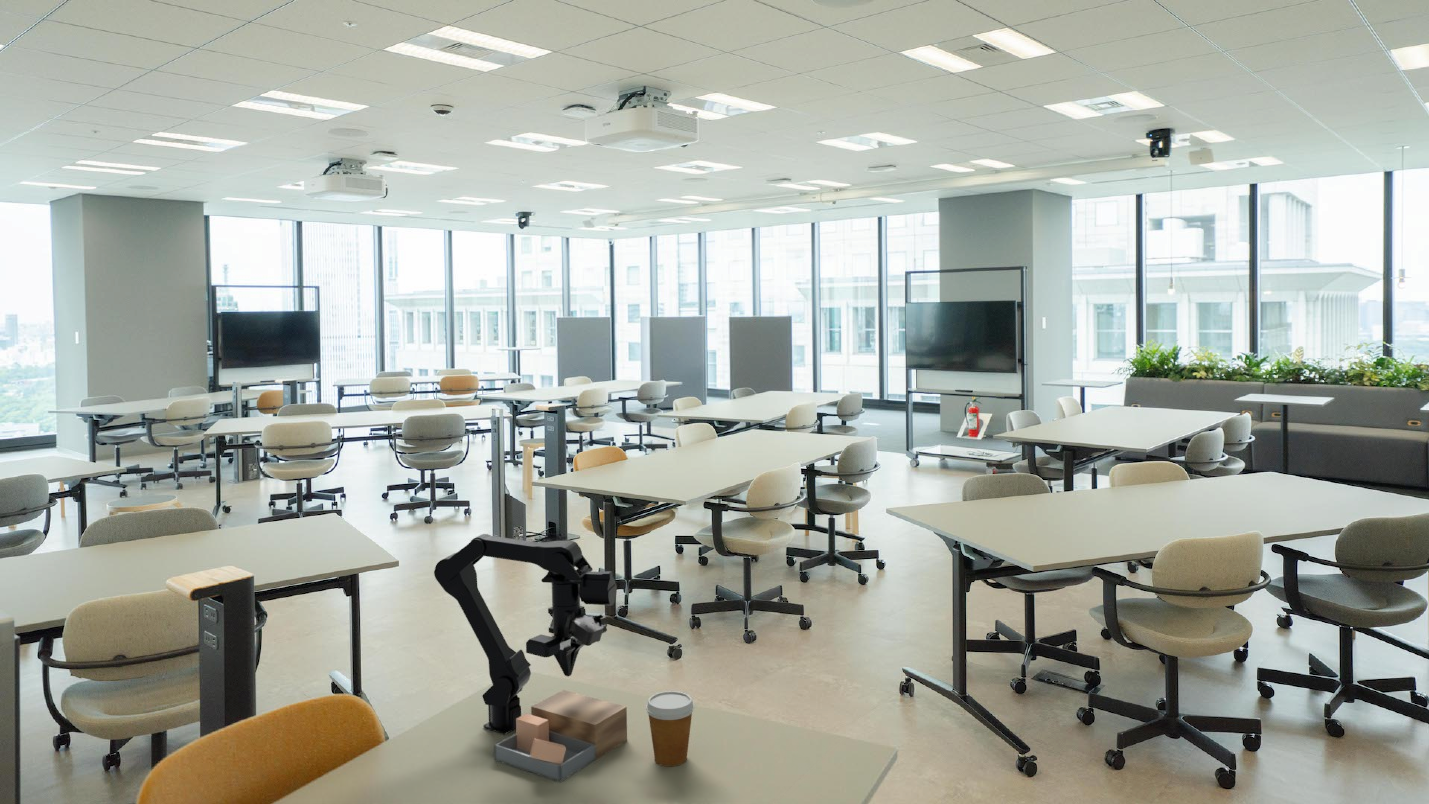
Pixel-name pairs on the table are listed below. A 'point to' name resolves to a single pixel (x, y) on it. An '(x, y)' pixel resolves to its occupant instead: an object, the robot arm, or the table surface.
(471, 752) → the table surface
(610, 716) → the brown wooden block
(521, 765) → the tray
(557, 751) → the tile
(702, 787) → the table surface
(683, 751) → the disposable coffee cup
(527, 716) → the tile
